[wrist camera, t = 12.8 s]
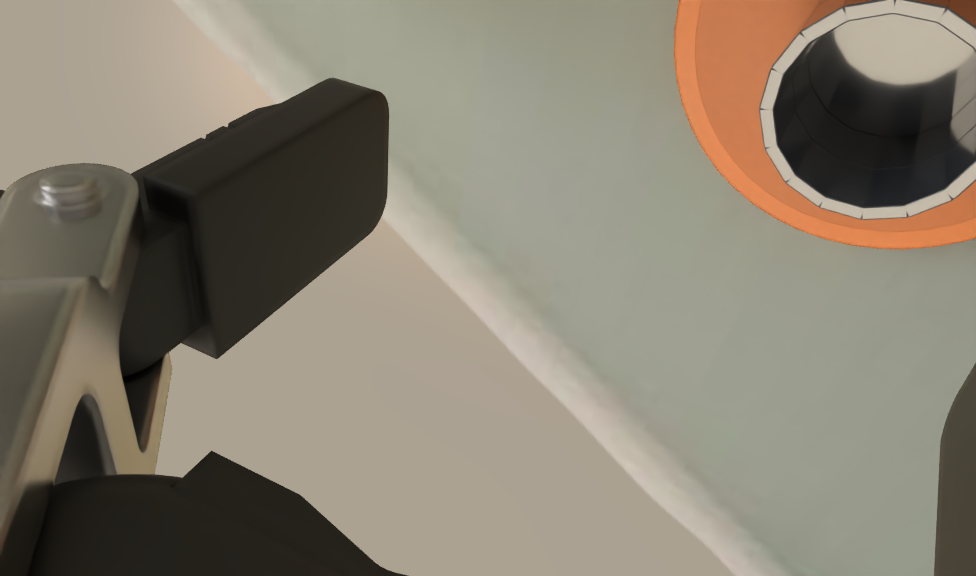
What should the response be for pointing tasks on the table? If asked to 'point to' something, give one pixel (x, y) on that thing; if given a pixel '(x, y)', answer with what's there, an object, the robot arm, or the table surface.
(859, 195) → the grey plastic cup
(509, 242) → the table surface
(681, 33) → the orange lid
